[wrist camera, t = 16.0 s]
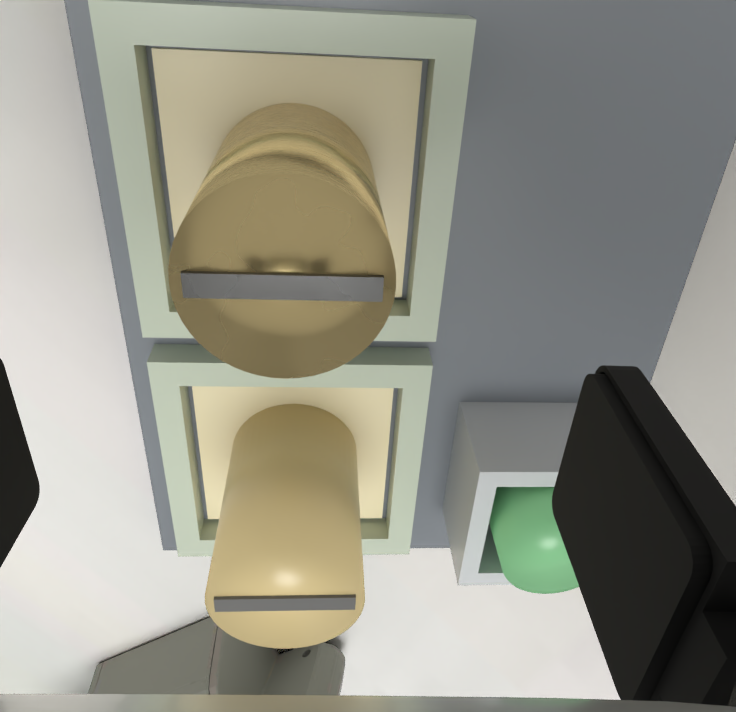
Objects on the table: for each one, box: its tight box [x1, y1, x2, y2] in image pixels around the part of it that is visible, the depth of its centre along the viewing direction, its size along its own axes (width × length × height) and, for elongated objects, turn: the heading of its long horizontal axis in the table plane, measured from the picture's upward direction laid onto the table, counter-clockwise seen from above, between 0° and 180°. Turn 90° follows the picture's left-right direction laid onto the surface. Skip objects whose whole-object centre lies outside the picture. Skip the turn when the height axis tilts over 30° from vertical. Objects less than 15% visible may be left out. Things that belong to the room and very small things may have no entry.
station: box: [64, 0, 736, 649], centre depth 21 cm, size 20×23×8 cm
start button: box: [489, 487, 579, 594], centre depth 25 cm, size 4×4×4 cm
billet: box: [168, 103, 396, 379], centre depth 17 cm, size 5×5×7 cm
